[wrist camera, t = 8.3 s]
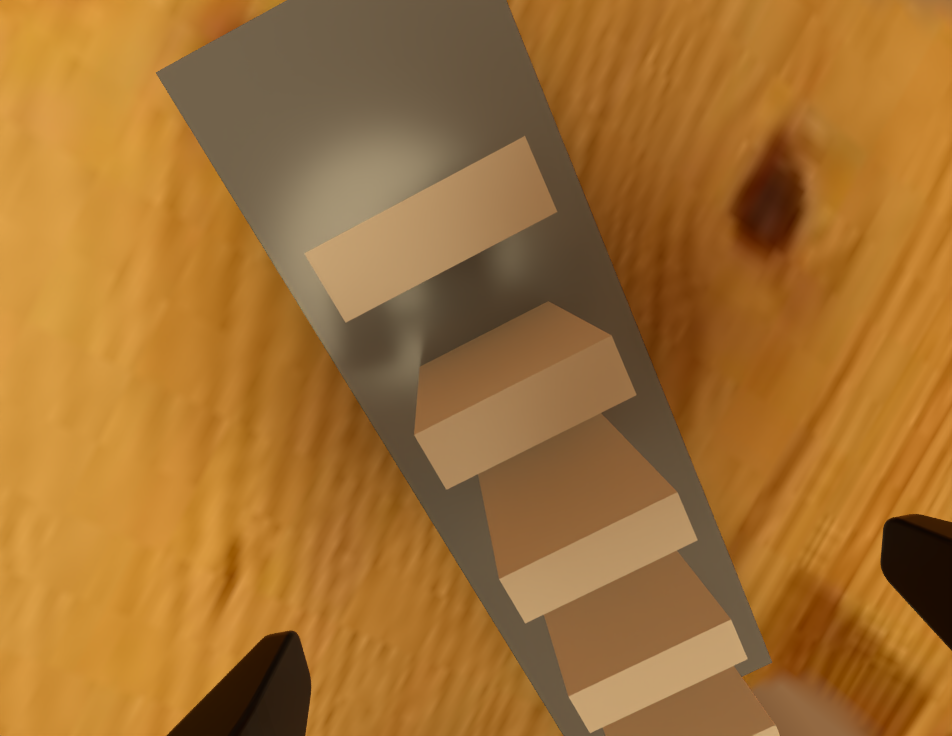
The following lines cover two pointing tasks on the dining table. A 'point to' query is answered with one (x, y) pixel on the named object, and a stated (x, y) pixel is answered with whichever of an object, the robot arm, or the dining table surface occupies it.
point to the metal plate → (454, 290)
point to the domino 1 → (433, 230)
